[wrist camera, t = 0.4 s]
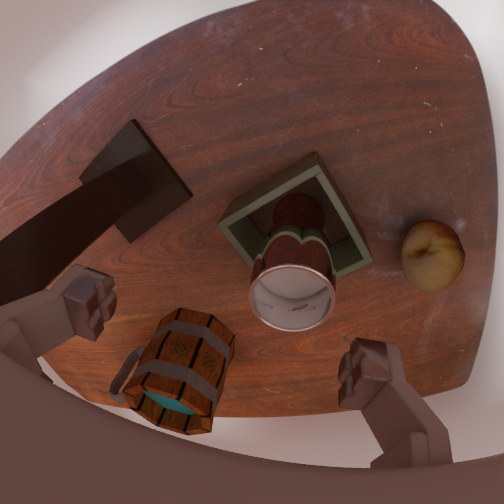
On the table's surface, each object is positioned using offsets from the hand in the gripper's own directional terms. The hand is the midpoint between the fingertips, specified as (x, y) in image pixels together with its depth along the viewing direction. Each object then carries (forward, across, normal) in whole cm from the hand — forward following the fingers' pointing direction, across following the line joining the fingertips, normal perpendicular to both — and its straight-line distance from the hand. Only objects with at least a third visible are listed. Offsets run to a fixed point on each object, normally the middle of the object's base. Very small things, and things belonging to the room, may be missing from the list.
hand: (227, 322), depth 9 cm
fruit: (+26, -19, +6) cm, 33 cm away
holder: (+26, -3, +8) cm, 27 cm away
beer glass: (+26, -3, +8) cm, 27 cm away
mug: (+25, +10, +34) cm, 44 cm away
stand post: (+26, +18, +8) cm, 32 cm away
